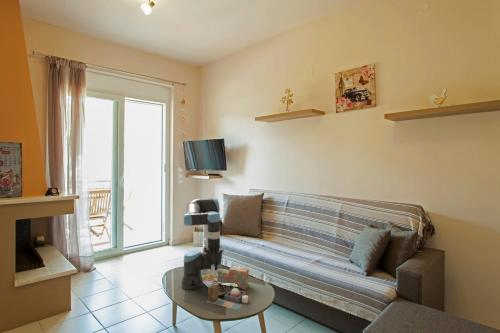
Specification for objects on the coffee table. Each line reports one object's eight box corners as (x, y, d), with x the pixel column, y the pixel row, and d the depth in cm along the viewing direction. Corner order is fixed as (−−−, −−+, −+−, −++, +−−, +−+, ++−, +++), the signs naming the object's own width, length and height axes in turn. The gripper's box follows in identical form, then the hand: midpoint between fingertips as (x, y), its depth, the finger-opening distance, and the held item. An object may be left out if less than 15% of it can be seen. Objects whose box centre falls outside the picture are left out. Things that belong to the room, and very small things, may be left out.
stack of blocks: (217, 284, 204) (216, 267, 204) (220, 281, 210) (220, 264, 210) (245, 289, 197) (245, 271, 197) (248, 285, 203) (248, 268, 203)
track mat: (206, 302, 180) (206, 301, 180) (212, 297, 186) (212, 296, 186) (237, 310, 170) (237, 310, 170) (242, 305, 176) (242, 304, 176)
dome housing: (224, 300, 183) (224, 295, 183) (232, 293, 192) (232, 288, 192) (238, 303, 178) (238, 298, 178) (245, 296, 187) (245, 291, 187)
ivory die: (242, 302, 179) (242, 297, 179) (243, 300, 183) (243, 294, 182) (247, 303, 179) (247, 297, 179) (248, 300, 182) (248, 295, 182)
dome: (228, 298, 183) (228, 289, 183) (233, 293, 189) (233, 285, 189) (237, 300, 180) (237, 291, 180) (242, 295, 186) (242, 287, 186)
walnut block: (207, 301, 181) (207, 286, 180) (211, 297, 185) (211, 283, 184) (214, 302, 179) (213, 288, 178) (217, 299, 183) (217, 285, 182)
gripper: (201, 237, 180) (201, 275, 181) (220, 240, 174) (220, 279, 175) (207, 234, 187) (208, 270, 188) (226, 237, 181) (226, 274, 182)
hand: (213, 274), depth 182 cm, fingers closed
